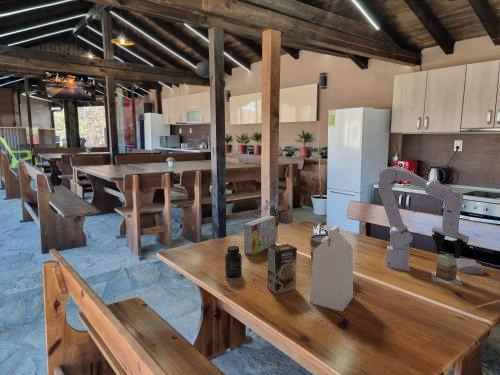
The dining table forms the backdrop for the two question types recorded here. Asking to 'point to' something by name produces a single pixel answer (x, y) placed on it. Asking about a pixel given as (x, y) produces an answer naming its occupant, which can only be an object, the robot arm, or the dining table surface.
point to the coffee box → (282, 268)
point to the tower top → (446, 268)
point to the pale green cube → (446, 260)
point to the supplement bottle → (233, 262)
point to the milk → (332, 272)
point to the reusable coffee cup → (316, 242)
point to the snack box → (259, 234)
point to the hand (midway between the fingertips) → (447, 254)
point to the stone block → (469, 266)
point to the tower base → (446, 275)
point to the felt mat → (456, 281)
